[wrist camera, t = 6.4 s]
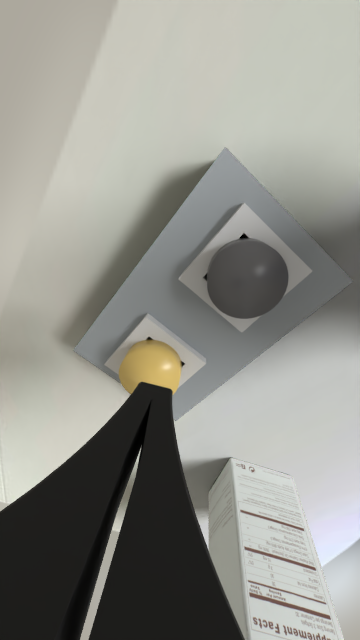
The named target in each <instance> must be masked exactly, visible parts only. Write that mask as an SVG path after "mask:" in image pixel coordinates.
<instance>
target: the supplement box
mask: <svg viewBox="0 0 360 640" xmlns="http://www.w3.org/2000/svg"><path fill="white" fill-rule="evenodd" d="M208 496H209V554H210V557H211V559H212V562H213V564H214V567H215V569H216V572H217V574H218V577H219V579H220V582H221V584H222V587H223V589H224V592H225V594H226V597H227V599H228V601H229V604H230V606H231V608H232V611H233V613H234V616H235V618H236V620H237V622H238V625H239V627H240V629H241V632H242V634H243V636H244V638H245V640H344V637H343V634H342V631H341V628H340V625H339V622H338V619H337V616H336V613H335V609H334V606H333V603H332V600H331V596H330V593H329V590H328V587H327V583H326V580H325V577H324V574H323V571H322V568H321V564H320V561H319V558H318V555H317V552H316V548H315V545H314V542H313V539H312V536H311V533H310V530H309V526H308V523H307V520H306V517H305V514H304V510H303V507H302V504H301V501H300V498H299V495H298V492H297V488H296V485H295V482H294V479H293V477H292V476H290V475H287V474H284V473H281V472H278V471H275V470H271V469H268V468H265V467H261V466H258V465H255V464H252V463H248V462H245V461H241V460H238V459H234V458H230V459H229V461H228V462H227V464H226V465H225V467H224V469H223V470H222V472H221V474H220V475H219V477H218V478H217V480H216V482H215V483H214V485H213V486H212V488H211V490H210V491H209V493H208Z"/></svg>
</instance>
